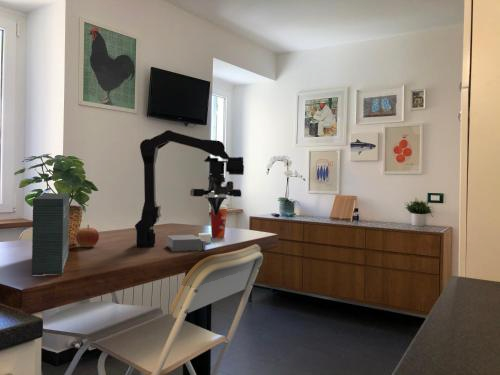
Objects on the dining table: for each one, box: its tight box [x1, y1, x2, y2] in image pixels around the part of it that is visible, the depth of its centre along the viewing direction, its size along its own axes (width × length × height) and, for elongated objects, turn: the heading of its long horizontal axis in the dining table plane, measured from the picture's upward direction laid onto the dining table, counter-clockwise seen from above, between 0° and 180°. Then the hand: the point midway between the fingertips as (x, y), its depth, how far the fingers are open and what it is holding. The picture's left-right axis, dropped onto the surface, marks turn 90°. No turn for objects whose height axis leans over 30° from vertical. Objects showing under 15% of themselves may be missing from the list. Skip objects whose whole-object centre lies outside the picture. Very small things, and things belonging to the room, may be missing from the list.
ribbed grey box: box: [31, 192, 70, 276], centre depth 117 cm, size 29×7×20 cm, turn 21°
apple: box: [74, 224, 100, 248], centre depth 146 cm, size 8×8×8 cm
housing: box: [166, 234, 203, 252], centre depth 149 cm, size 10×11×4 cm
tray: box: [197, 236, 207, 250], centre depth 150 cm, size 11×11×3 cm
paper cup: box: [210, 204, 228, 239], centre depth 179 cm, size 8×8×14 cm
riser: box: [198, 232, 212, 244], centre depth 163 cm, size 4×4×4 cm
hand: (215, 215), depth 154 cm, fingers closed
